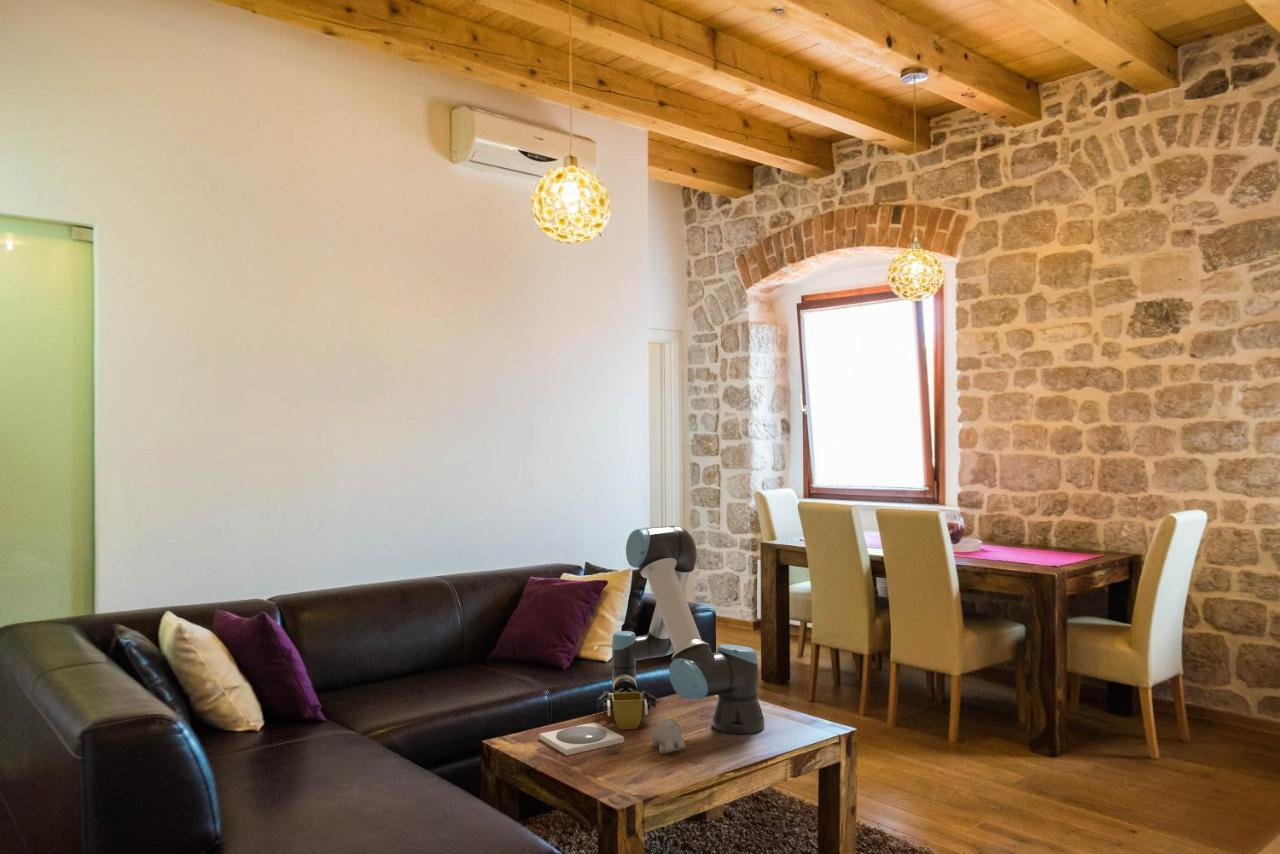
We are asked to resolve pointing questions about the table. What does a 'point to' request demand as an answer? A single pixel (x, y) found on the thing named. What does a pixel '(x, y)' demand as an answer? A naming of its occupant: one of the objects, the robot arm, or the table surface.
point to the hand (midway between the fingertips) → (627, 710)
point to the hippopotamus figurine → (667, 736)
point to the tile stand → (581, 738)
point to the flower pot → (627, 709)
